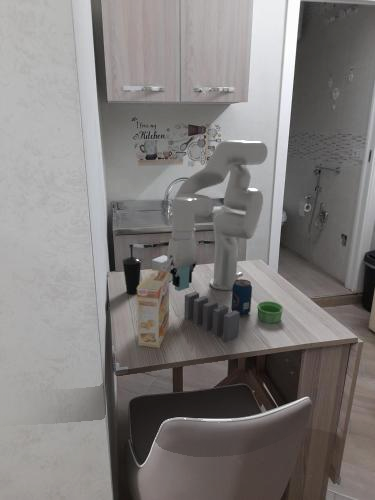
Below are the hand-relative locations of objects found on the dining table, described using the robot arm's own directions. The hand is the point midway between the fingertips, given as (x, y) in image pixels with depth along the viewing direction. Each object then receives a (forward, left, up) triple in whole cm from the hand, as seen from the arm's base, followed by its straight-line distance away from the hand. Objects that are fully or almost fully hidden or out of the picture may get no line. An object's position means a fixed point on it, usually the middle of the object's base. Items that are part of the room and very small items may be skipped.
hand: (182, 283), depth 131 cm
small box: (-12, -27, -12) cm, 32 cm away
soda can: (-16, +14, -12) cm, 24 cm away
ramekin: (-21, +23, -12) cm, 33 cm away
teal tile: (0, 0, -2) cm, 2 cm away
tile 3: (0, +9, -12) cm, 15 cm away
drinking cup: (+4, -26, -12) cm, 29 cm away
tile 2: (0, +5, -12) cm, 13 cm away
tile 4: (0, +14, -12) cm, 18 cm away
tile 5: (0, +19, -12) cm, 22 cm away
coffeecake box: (+16, +6, -12) cm, 21 cm away
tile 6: (0, +23, -12) cm, 26 cm away
